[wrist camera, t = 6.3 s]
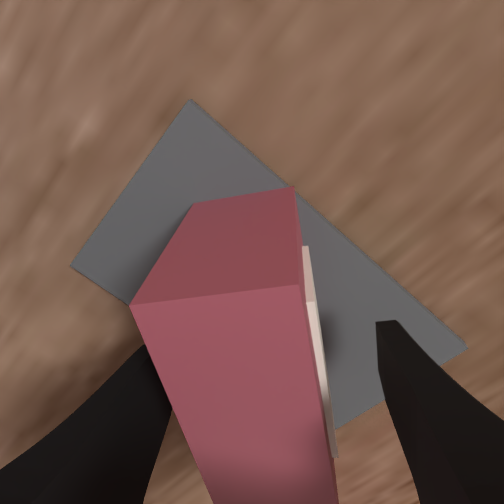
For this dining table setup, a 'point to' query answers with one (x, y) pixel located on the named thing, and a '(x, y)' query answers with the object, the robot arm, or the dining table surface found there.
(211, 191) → the mat
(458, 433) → the robot arm
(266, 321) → the box
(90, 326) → the dining table surface
